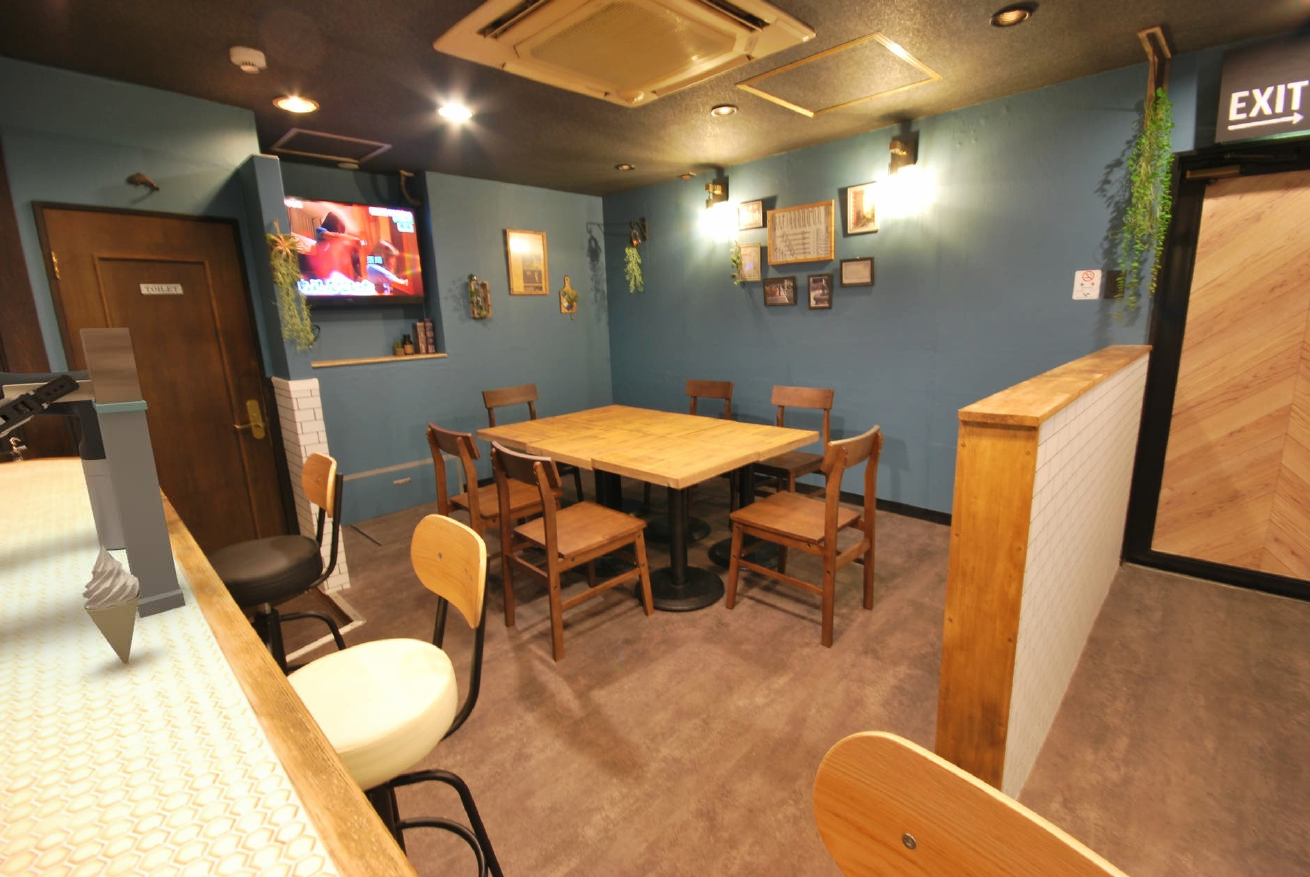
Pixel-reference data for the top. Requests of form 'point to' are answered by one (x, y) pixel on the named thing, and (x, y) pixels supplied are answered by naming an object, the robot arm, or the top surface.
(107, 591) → the ice cream cone
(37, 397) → the robot arm
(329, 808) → the top surface
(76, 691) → the top surface
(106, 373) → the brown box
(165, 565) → the stand
